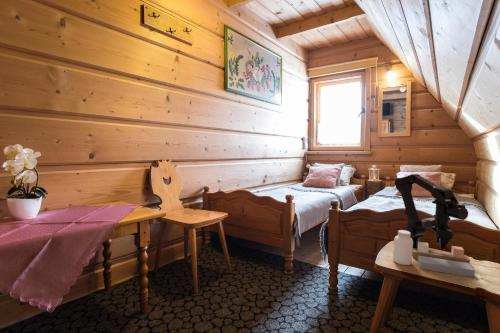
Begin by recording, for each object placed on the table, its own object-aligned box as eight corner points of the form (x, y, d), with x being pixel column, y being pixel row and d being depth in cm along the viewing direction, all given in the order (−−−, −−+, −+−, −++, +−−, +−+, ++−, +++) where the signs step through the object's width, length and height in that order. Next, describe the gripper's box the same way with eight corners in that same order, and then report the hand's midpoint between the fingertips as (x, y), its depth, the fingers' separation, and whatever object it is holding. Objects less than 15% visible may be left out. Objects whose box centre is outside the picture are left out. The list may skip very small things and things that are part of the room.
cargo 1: (417, 249, 144) (418, 241, 144) (426, 250, 142) (427, 242, 142) (418, 251, 140) (419, 244, 140) (428, 253, 139) (428, 245, 138)
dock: (417, 261, 136) (418, 255, 136) (468, 269, 129) (468, 263, 128) (420, 268, 129) (420, 262, 129) (474, 277, 121) (474, 270, 121)
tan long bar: (411, 254, 146) (412, 247, 146) (465, 262, 137) (466, 255, 137) (413, 258, 141) (413, 251, 141) (469, 266, 132) (469, 259, 132)
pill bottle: (414, 266, 131) (416, 235, 130) (395, 264, 133) (397, 233, 131) (408, 259, 139) (410, 229, 138) (390, 257, 141) (392, 228, 139)
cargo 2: (451, 253, 138) (451, 245, 138) (461, 255, 137) (461, 247, 136) (453, 256, 135) (453, 248, 134) (463, 258, 133) (464, 250, 133)
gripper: (420, 208, 148) (418, 236, 150) (426, 217, 131) (424, 249, 133) (445, 210, 144) (442, 240, 146) (455, 220, 127) (452, 253, 129)
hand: (439, 245), depth 138 cm, fingers open, 9 cm apart
